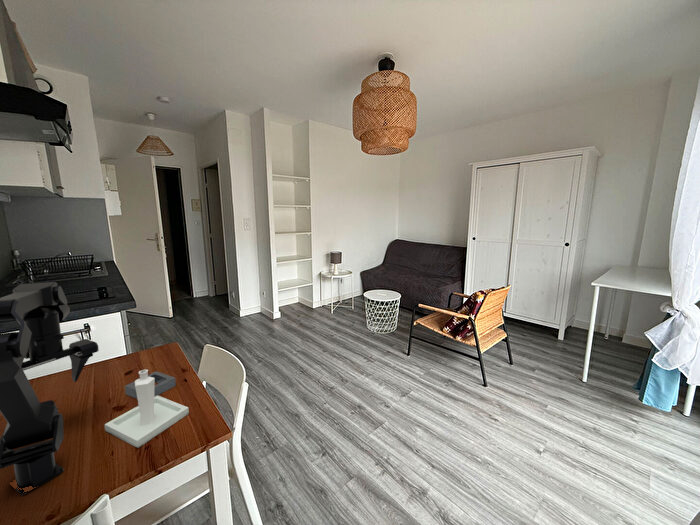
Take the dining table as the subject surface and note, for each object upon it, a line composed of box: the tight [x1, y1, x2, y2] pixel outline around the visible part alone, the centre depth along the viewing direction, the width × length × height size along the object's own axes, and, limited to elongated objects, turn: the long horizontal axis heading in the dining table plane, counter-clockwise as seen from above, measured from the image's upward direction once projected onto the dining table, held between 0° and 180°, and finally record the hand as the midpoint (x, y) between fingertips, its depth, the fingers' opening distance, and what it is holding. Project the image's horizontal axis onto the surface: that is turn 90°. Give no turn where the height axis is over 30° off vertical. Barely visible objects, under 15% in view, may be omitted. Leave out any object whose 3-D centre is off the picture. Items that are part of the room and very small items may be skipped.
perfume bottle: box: [135, 369, 156, 426], centre depth 78 cm, size 5×4×15 cm
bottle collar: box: [124, 371, 176, 400], centre depth 93 cm, size 10×10×3 cm
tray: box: [104, 395, 190, 449], centre depth 79 cm, size 14×14×2 cm
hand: (51, 390), depth 71 cm, fingers open, 9 cm apart
